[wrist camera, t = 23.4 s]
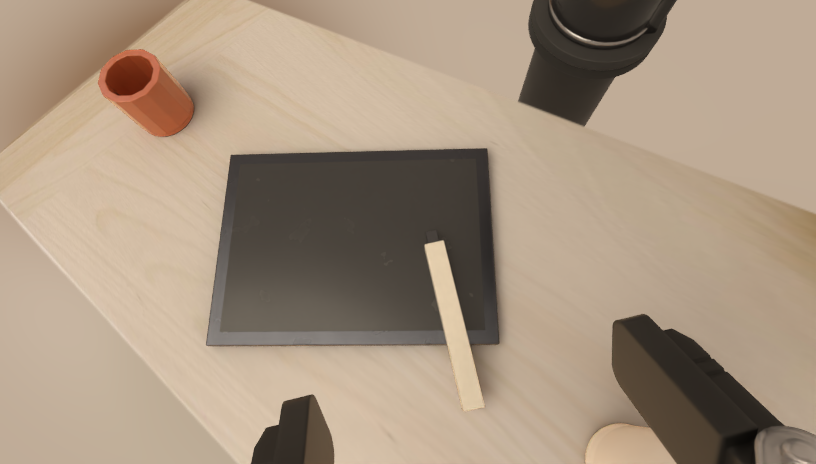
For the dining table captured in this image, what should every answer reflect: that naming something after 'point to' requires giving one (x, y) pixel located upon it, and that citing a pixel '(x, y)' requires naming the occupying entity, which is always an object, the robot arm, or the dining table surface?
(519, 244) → the dining table surface
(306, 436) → the robot arm
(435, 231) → the stylus
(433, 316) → the tablet
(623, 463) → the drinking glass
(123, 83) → the pen pot
